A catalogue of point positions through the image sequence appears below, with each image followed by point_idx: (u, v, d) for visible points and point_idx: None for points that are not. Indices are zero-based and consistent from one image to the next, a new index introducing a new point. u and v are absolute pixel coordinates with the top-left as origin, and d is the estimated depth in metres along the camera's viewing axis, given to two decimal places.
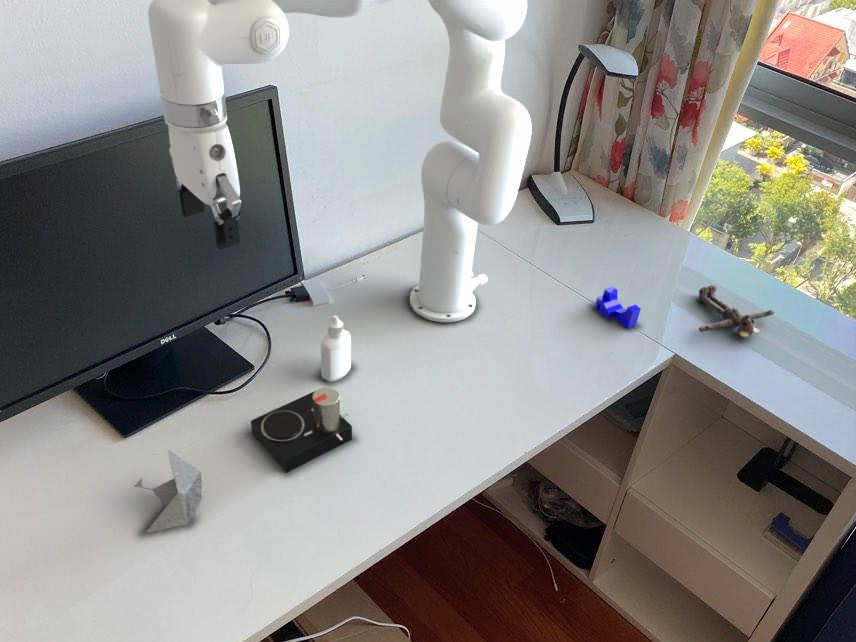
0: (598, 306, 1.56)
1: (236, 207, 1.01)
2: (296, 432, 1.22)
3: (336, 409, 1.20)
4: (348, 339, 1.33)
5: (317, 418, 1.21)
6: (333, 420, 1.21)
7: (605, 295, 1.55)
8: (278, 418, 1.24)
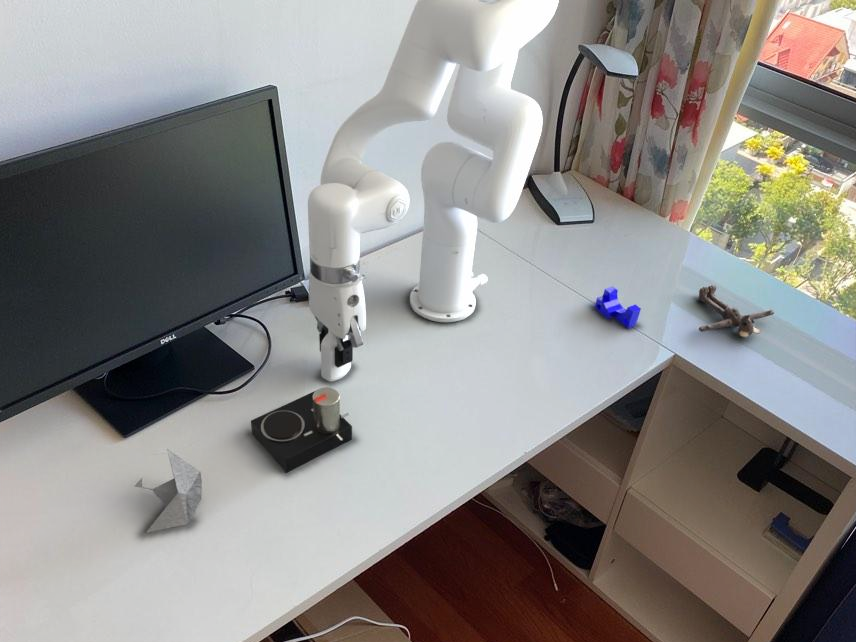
0: (598, 306, 1.56)
1: None
2: (296, 432, 1.22)
3: (336, 409, 1.20)
4: None
5: (317, 418, 1.21)
6: (333, 420, 1.21)
7: (605, 295, 1.55)
8: (278, 418, 1.24)
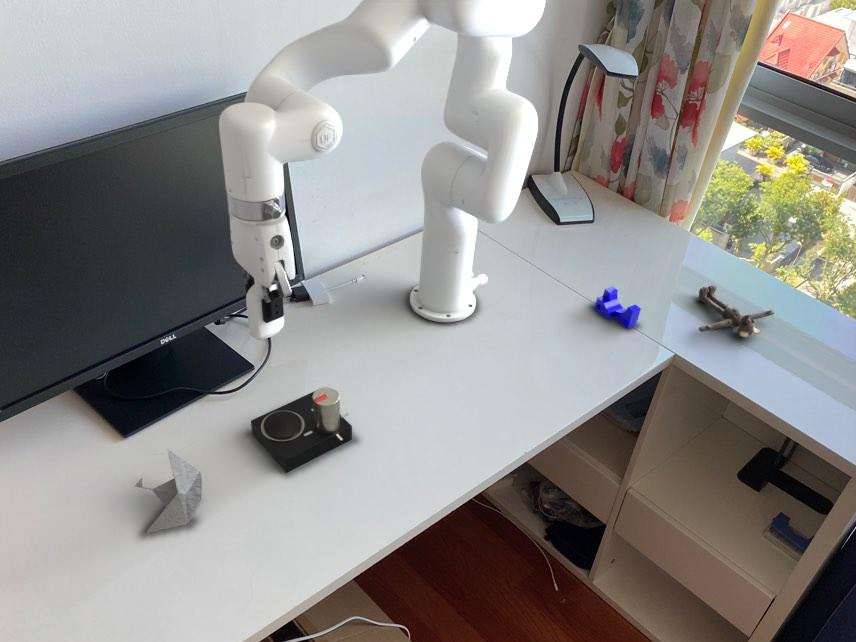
0: (598, 306, 1.56)
1: None
2: (296, 432, 1.22)
3: (336, 409, 1.20)
4: None
5: (317, 418, 1.21)
6: (333, 420, 1.21)
7: (605, 295, 1.55)
8: (278, 418, 1.24)
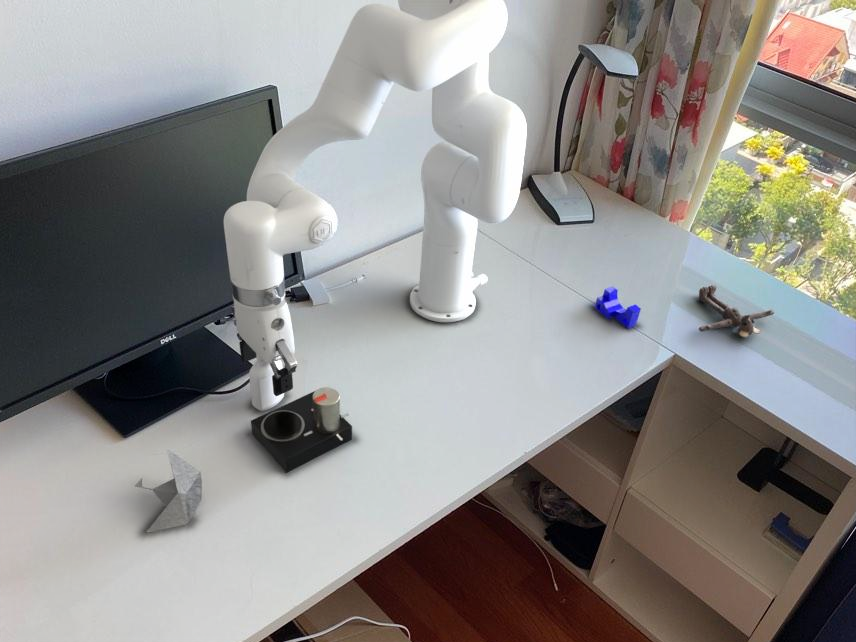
0: (598, 306, 1.56)
1: (293, 368, 1.18)
2: (296, 432, 1.22)
3: (336, 409, 1.20)
4: (278, 367, 1.27)
5: (317, 418, 1.21)
6: (333, 420, 1.21)
7: (605, 295, 1.55)
8: (278, 418, 1.24)
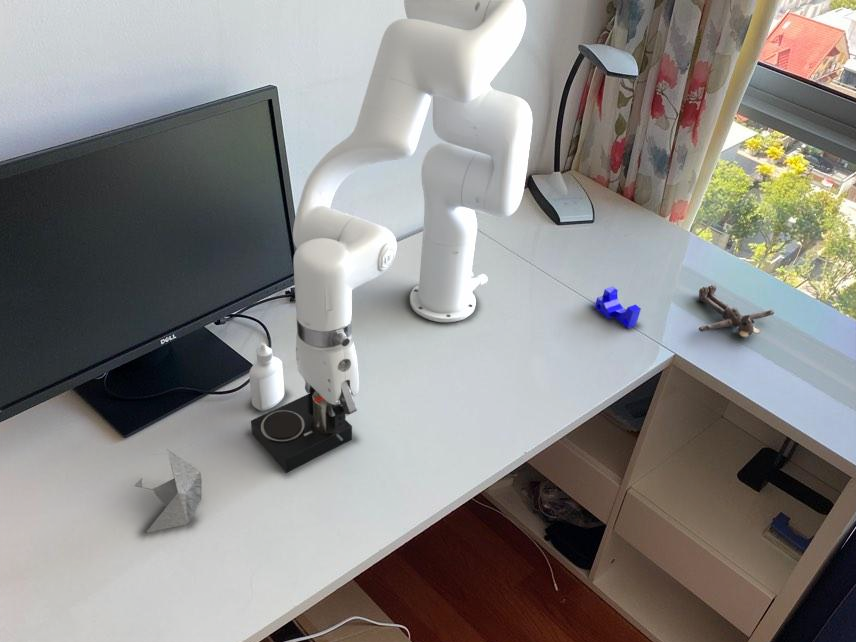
0: (598, 306, 1.56)
1: None
2: (296, 432, 1.22)
3: None
4: (279, 367, 1.27)
5: (317, 418, 1.21)
6: None
7: (605, 295, 1.55)
8: (278, 418, 1.24)
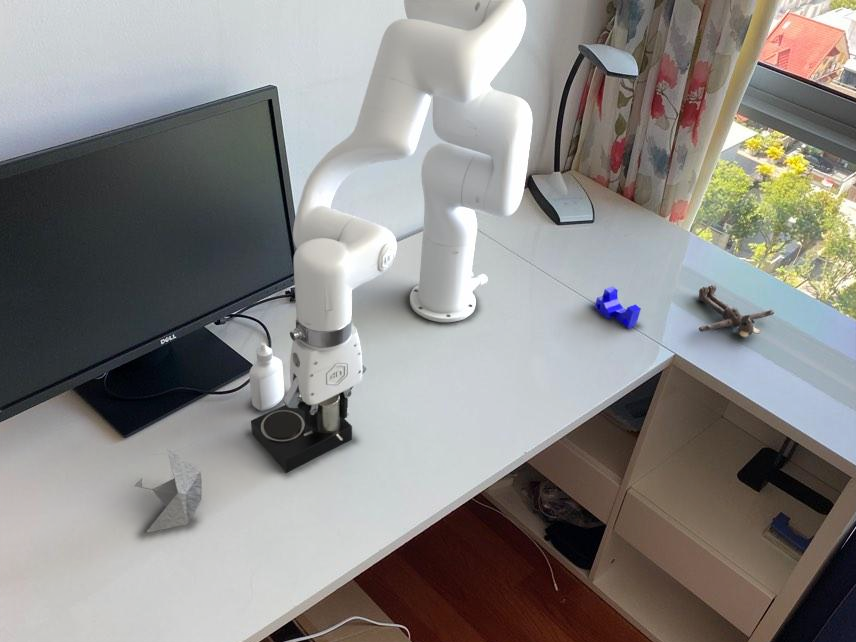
0: (598, 306, 1.56)
1: None
2: (296, 432, 1.22)
3: None
4: (279, 367, 1.27)
5: None
6: None
7: (605, 295, 1.55)
8: (278, 418, 1.24)
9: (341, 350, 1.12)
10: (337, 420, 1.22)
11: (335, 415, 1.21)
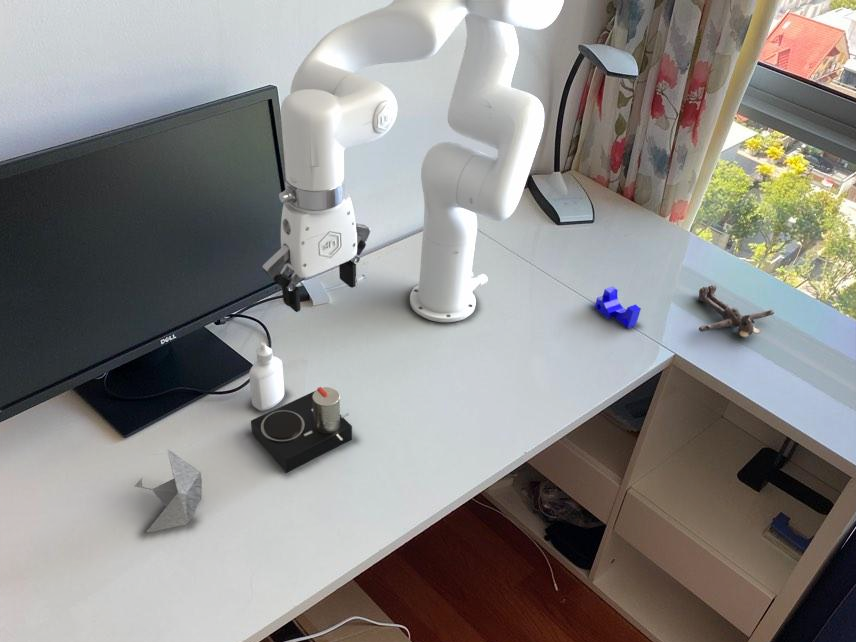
0: (598, 306, 1.56)
1: (266, 272, 1.08)
2: (296, 432, 1.22)
3: (317, 410, 1.20)
4: (279, 367, 1.27)
5: None
6: (315, 417, 1.22)
7: (605, 295, 1.55)
8: (278, 418, 1.24)
9: (334, 217, 1.07)
10: (337, 420, 1.22)
11: (335, 415, 1.21)
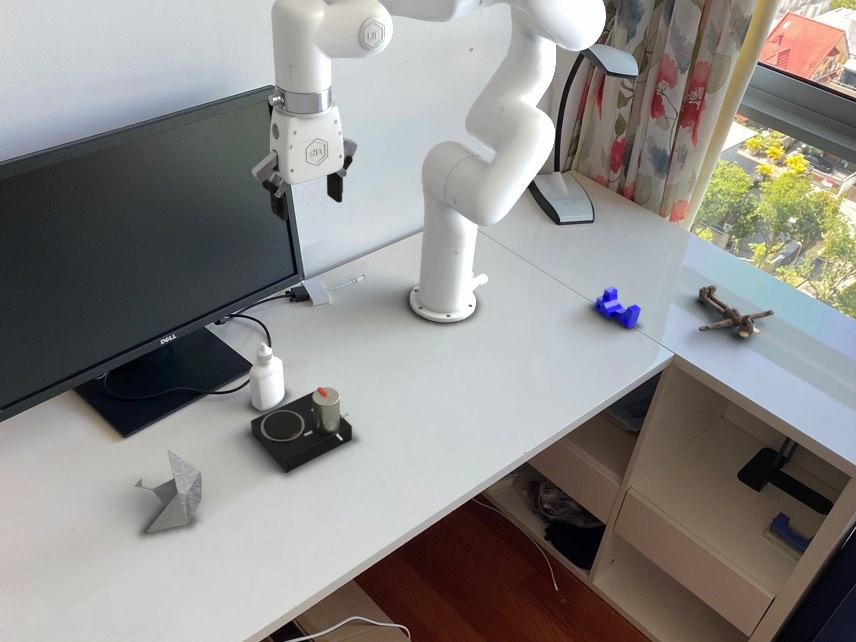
0: (598, 306, 1.56)
1: (255, 176, 1.13)
2: (296, 432, 1.22)
3: (317, 410, 1.20)
4: (279, 367, 1.27)
5: None
6: (315, 417, 1.22)
7: (605, 295, 1.55)
8: (278, 418, 1.24)
9: (321, 123, 1.11)
10: (337, 420, 1.22)
11: (335, 415, 1.21)
